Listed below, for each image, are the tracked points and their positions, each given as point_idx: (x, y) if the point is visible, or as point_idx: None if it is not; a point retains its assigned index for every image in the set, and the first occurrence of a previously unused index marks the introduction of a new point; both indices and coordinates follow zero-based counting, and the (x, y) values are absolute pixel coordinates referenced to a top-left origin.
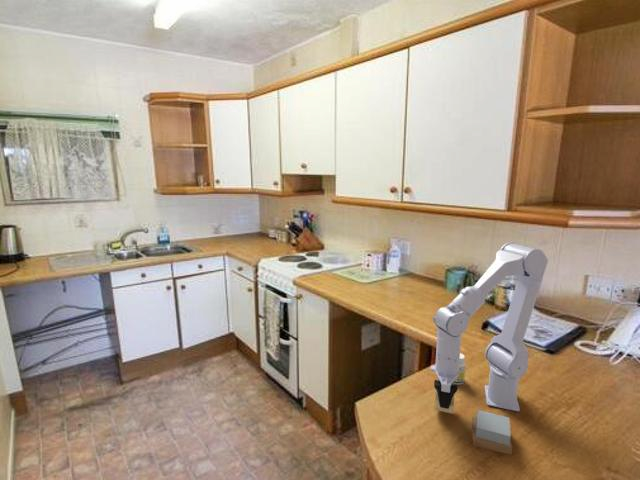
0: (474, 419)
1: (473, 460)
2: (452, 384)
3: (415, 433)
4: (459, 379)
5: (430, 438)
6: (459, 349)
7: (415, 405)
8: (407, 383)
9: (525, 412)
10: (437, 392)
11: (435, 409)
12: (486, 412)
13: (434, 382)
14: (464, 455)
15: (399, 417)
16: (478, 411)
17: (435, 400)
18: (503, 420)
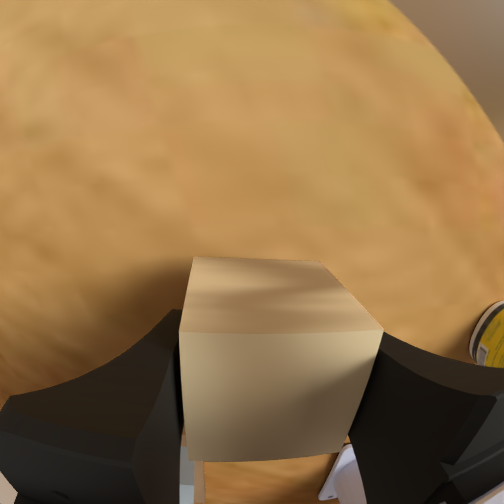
0: (182, 440)
1: (2, 377)
2: (353, 448)
3: (16, 149)
4: (483, 359)
5: (11, 228)
6: None
7: (271, 117)
8: (463, 95)
9: (319, 501)
10: (85, 375)
11: (193, 261)
12: (188, 502)
13: (32, 445)
14: (3, 356)
15: (116, 37)
16: (180, 486)
17: (189, 287)
18: None
